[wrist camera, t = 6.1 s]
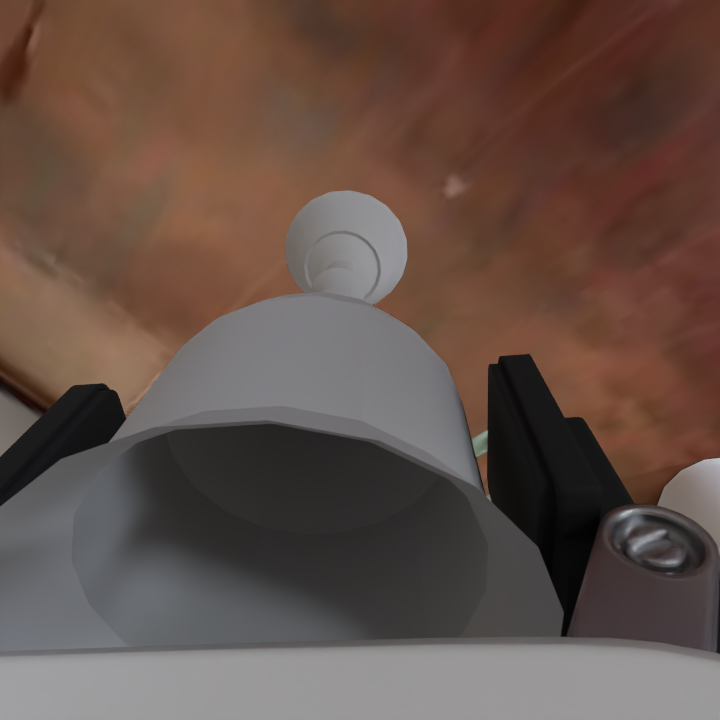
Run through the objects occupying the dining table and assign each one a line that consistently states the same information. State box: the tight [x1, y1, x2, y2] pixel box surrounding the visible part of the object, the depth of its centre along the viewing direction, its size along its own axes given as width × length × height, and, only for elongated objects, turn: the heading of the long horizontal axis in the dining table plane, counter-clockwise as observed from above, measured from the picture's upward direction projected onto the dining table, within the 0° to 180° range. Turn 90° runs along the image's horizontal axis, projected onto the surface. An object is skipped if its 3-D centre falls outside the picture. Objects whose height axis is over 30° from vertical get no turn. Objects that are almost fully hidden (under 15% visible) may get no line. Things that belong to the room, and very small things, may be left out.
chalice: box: [0, 190, 564, 652], centre depth 15 cm, size 7×7×18 cm
